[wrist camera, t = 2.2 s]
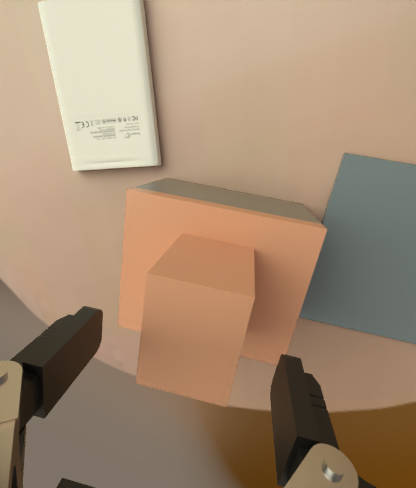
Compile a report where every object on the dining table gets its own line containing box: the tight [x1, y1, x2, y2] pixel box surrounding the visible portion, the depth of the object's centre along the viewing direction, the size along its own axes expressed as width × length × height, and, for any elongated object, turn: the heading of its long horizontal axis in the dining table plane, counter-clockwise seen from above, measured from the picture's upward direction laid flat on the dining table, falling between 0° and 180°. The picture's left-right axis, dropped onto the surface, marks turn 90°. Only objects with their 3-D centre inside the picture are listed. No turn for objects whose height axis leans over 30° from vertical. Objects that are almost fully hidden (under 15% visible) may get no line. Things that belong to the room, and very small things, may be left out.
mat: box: [299, 153, 416, 344], centre depth 23 cm, size 15×16×1 cm
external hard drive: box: [38, 0, 162, 171], centre depth 23 cm, size 2×8×12 cm
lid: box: [118, 187, 327, 407], centre depth 16 cm, size 10×12×8 cm
